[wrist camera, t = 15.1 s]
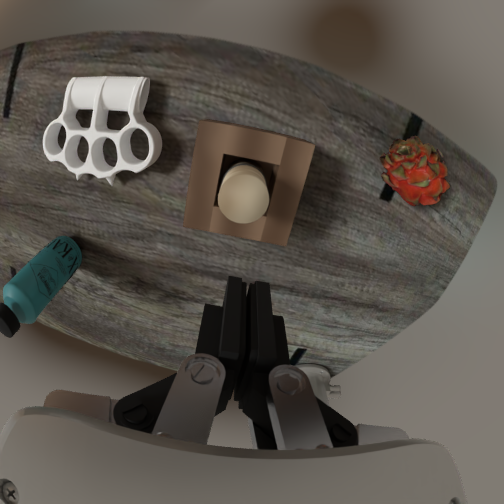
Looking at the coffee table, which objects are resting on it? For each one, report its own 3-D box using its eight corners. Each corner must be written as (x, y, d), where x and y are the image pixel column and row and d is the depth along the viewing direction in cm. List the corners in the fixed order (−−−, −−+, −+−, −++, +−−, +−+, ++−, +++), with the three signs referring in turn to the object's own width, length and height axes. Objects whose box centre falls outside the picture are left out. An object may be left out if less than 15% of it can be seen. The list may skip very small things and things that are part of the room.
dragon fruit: (364, 139, 32) (419, 171, 35) (363, 196, 31) (420, 222, 34) (408, 112, 24) (460, 156, 27) (414, 177, 23) (466, 213, 26)
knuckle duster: (176, 81, 27) (156, 190, 34) (64, 79, 25) (54, 173, 32) (168, 78, 24) (148, 197, 31) (50, 78, 22) (41, 179, 29)
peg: (268, 161, 31) (276, 181, 22) (258, 197, 33) (262, 229, 25) (230, 153, 31) (222, 168, 22) (222, 189, 33) (212, 218, 24)
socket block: (304, 139, 31) (315, 145, 26) (280, 225, 36) (285, 246, 31) (208, 119, 30) (199, 120, 24) (192, 208, 35) (183, 226, 30)
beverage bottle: (74, 270, 40) (13, 352, 22) (51, 241, 37) (-20, 315, 19) (94, 253, 38) (26, 341, 21) (69, 221, 35) (-12, 297, 18)
